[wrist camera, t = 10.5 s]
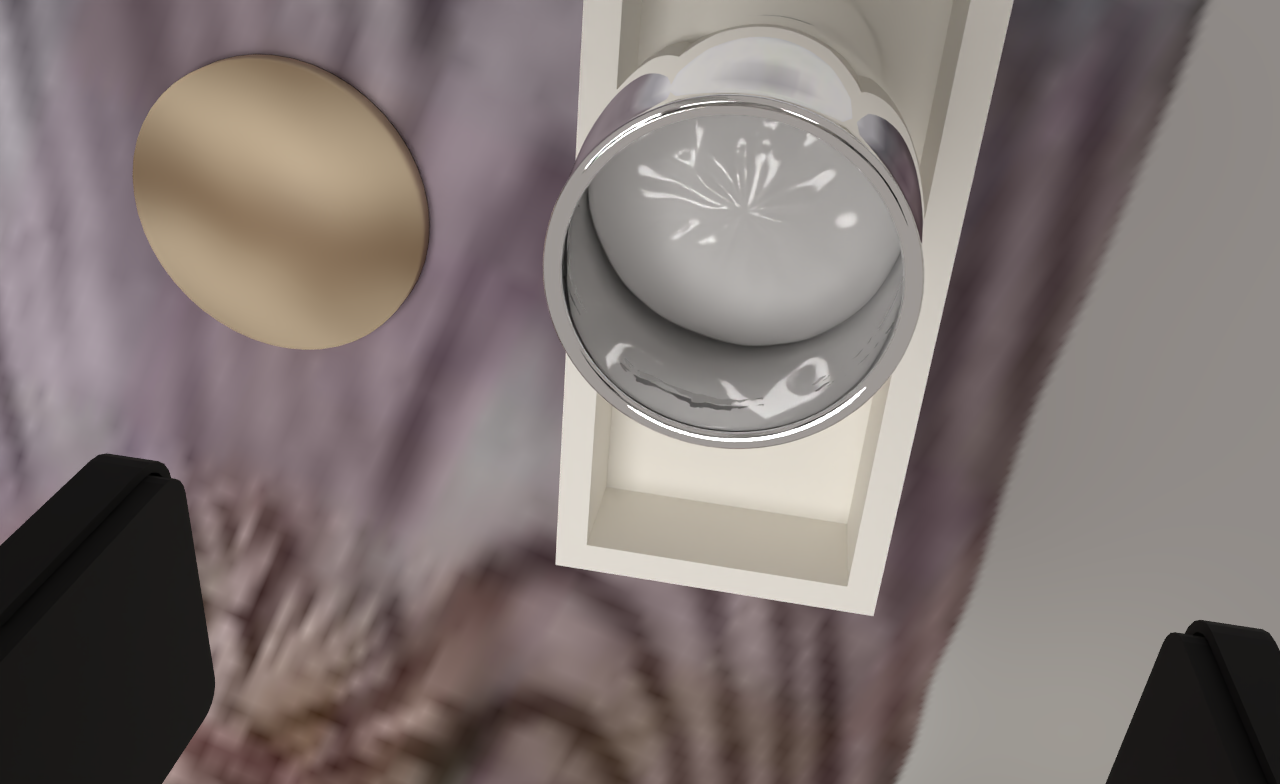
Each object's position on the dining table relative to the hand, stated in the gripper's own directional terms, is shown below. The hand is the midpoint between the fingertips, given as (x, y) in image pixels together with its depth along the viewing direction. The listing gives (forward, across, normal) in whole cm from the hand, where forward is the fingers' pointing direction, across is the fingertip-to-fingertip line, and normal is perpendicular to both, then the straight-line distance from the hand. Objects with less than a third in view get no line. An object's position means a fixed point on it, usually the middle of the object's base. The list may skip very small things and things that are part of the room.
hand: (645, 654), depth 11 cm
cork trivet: (+26, +16, +7) cm, 31 cm away
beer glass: (+25, 0, +1) cm, 25 cm away
